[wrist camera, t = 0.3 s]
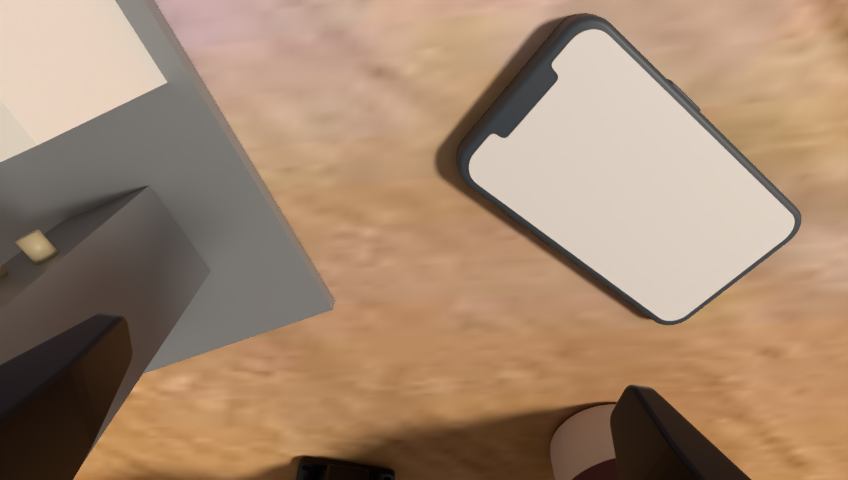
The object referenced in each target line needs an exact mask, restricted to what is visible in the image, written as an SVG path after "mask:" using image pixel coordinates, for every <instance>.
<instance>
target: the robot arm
mask: <svg viewBox="0 0 848 480" xmlns="http://www.w3.org/2000/svg"><path fill="white" fill-rule="evenodd" d="M132 355H133V348H132V342H131V336H130V330H129V324H128V321H127V319H126V318H125V317H124V316H122V315H116V314H108V313H98V314H95V315H93V316H91V317H89V318H87V319H85V320H83V321H81V322H80V323H78V324H76V325H74V326H72V327H70V328H68V329H66V330H64V331H63V332H61V333H59V334H57V335H55V336H53V337H51V338H49V339H47V340H45V341H44V342H42V343H40V344H38V345H36V346H34V347H32V348H30V349H28V350H27V351H25V352H23V353H21V354H19V355H17V356H15V357H13V358H11V359H9V360H8V361H6V362H4V363H2V364H0V480H73V479H74V477H75V475H76V474H77V472H78V470H79V469H80V467H81V465H82V463H83V462H84V460H85V458H86V456H87V455H88V453H89V451H90V449H91V448H92V446H93V444H94V441H95V439H96V437H97V435H98V433H99V431H100V429H101V427H102V425H103V422H104V420H105V418H106V416H107V414H108V412H109V409H110V407H111V405H112V403H113V401H114V398H115V396H116V394H117V392H118V390H119V388H120V385H121V383H122V381H123V379H124V377H125V374H126V372H127V370H128V368H129V366H130V363H131V360H132ZM610 428H611V434H612V440H613V446H614V451H615V457H616V463H617V469H618V475H619V480H751V479H750V478H749V477H748V476H747V475H746V474H745V473H743V472H742V471H741V470H740V469H739V468H738V467H737V466H736V465H735V464H734V463H733V462H732V461H731V460H729V459H728V458H727V457H726V456H725V455H724V454H723V453H722V452H721V451H720V450H719V449H718V448H717V447H715V446H714V445H713V444H712V443H711V442H710V441H709V440H708V439H707V438H706V437H705V436H704V435H703V434H701V433H700V432H699V431H698V430H697V429H696V428H695V427H694V426H693V425H692V424H691V423H690V422H689V421H687V420H686V419H685V418H684V417H683V416H682V415H681V414H680V413H679V412H678V411H677V410H676V409H675V408H673V407H672V406H671V405H670V404H669V403H668V402H667V401H666V400H665V399H664V398H663V397H662V396H660V395H659V394H658V393H657V392H656V391H655V390H654V389H652V388H650V387H646V386H639V385H629V386H628V387H626V389H625V390H624V392H623V393H622V395H621V397H620V399H619V400H618V402H617V404H616V405H615V407H614V409H613V410H612V413H611V416H610ZM296 480H395V472H394V471H393V470H390V469H384V468H377V467H370V466H363V465H356V464H349V463H342V462H335V461H328V460H320V459H313V458H302V459H301V460H300V462H299V466H298V472H297V477H296Z"/></svg>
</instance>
